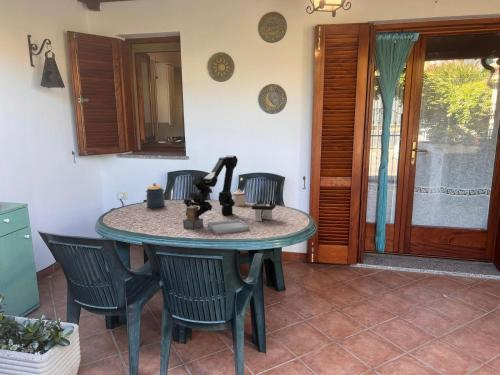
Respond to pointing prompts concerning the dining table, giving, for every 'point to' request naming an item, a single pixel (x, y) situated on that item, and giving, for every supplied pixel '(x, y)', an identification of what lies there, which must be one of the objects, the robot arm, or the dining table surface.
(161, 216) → the dining table surface
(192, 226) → the charcoal open-top box
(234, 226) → the plastic tray
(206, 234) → the dining table surface
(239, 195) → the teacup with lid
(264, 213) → the black-topped pedestal
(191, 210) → the walnut block
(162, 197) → the canister
